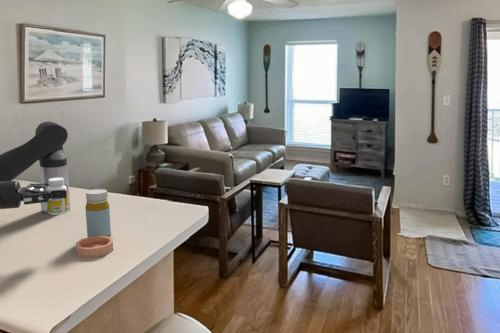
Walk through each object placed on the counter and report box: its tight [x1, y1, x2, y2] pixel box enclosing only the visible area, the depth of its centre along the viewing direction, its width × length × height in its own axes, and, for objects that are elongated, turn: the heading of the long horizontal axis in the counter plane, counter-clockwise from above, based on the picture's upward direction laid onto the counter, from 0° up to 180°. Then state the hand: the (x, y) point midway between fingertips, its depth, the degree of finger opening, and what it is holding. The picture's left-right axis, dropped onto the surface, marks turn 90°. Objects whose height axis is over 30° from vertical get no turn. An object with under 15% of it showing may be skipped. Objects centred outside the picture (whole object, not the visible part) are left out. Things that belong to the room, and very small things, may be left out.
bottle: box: [85, 188, 112, 238], centre depth 135 cm, size 7×7×15 cm
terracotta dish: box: [75, 236, 114, 258], centre depth 127 cm, size 10×10×2 cm
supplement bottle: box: [46, 178, 70, 216], centre depth 123 cm, size 5×5×10 cm
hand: (66, 191), depth 124 cm, fingers closed on supplement bottle, 5 cm apart
